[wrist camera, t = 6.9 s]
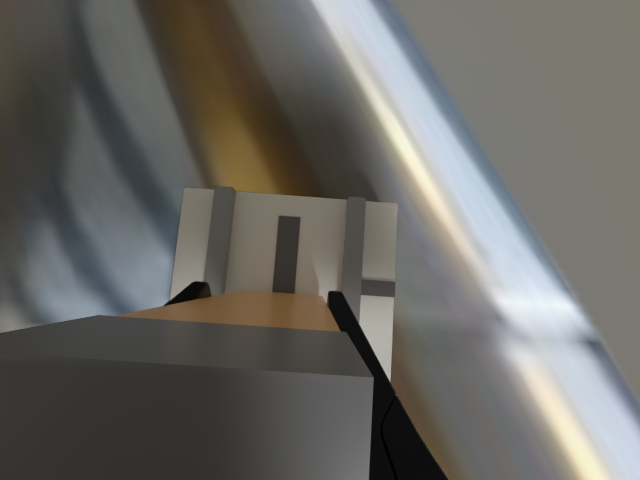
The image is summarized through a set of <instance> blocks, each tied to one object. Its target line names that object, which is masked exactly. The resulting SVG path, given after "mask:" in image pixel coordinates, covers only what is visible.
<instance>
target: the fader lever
mask: <svg viewBox="0 0 640 480" xmlns="http://www.w3.org/2000/svg"><path fill="white" fill-rule="evenodd" d="M373 382H374V377H373V376H372V374H371V372H370V371H369V369H368V367H367V366H366V364H365V362H364V361H363V359H362V357H361V356H360V354H359V352H358V351H357V349H356V347H355V346H354V344H353V342H352V341H351V339H350V337H349V336H348V334H347V332H341V331H340V329H339V327H338V325H337V323H336V321H335V319H334V317H333V315H332V313H331V311H330V310H329V308H328V307H327V304H326V302H325V300H324V298H323V296H320V295H306V294H292V293H278V292H263V291H249V290H240V291H235V292H230V293H225V294H221V295H216V296H211V297H206V298H202V299H196V300H191V301H186V302H181V303H177V304H172V305H167V306H162V307H157V308H152V309H147V310H142V311H137V312H133V313H128V314H123V315H118V316H104V315H96V316H91V317H86V318H80V319H75V320H69V321H64V322H58V323H53V324H48V325H42V326H37V327H31V328H26V329H20V330H15V331H10V332H4V333H0V480H369V465H370V444H371V423H372V402H373Z"/></svg>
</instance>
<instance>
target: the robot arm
mask: <svg viewBox="0 0 640 480" xmlns="http://www.w3.org/2000/svg"><path fill="white" fill-rule="evenodd" d="M211 296H212V295H211V290H210V286H209V284H208V282H202V281H194V282H192V283H191V284H189V285H188V286H187V287H186V288H185V289H183V290H182V291H181V292H180V293H178V294H177V295H176V296H175V297H174V298H172V299H171V300H170V301H169V302H167V303H166V304H165V305H164V306H167V305H172V304H177V303H181V302H186V301H191V300H196V299H202V298H206V297H211ZM327 307H328V308H329V310H330V311H331V313H332V315H333V317H334V319H335V321H336V323H337V325H338V327H339V329H340V331H341V332H347V334H348V336H349V337H350V339H351V341H352V342H353V344H354V346H355V347H356V349H357V351H358V352H359V354H360V356H361V357H362V359H363V361H364V362H365V364H366V366H367V367H368V369H369V371H370V372H371V374H372V376H373V377H374V382H373V402H372V423H371V444H370V465H369V480H448V478H447V477H446V475H445V474H444V472H443V471H442V469H441V468H440V466H439V465H438V463H437V462H436V460H435V459H434V457H433V456H432V454H431V452H430V451H429V449H428V448H427V446H426V445H425V443H424V441H423V440H422V438H421V437H420V435H419V434H418V432H417V430H416V428H415V427H414V425H413V423H412V421H411V420H410V418H409V416H408V414H407V413H406V411H405V409H404V407H403V405H402V403H401V401H400V399H399V398H398V396H396V392H395V390H394V388H393V387H392V385H391V383H390V381H389V379H388V377H387V375H386V373H385V371H384V370H383V368H382V366H381V364H380V362H379V360H378V358H377V356H376V355H375V353H374V351H373V349H372V347H371V345H370V343H369V341H368V339H367V338H366V336H365V334H364V332H363V330H362V328H361V326H360V324H359V322H358V321H357V319H356V317H355V315H354V313H353V311H352V309H351V307H350V306H349V304H348V302H347V300H346V298H345V296H344V294H343V293H342V292H341V291H329V292H328V296H327Z"/></svg>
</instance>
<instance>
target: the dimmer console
mask: <svg viewBox="0 0 640 480" xmlns="http://www.w3.org/2000/svg"><path fill="white" fill-rule="evenodd" d="M397 209H398V204H397V203H384V202H371V201H366V198H363V197H350V196H348V198H347V200H344V199H331V198H318V197H305V196H292V195H278V194H265V193H252V192H239V191H235V190H234V189H233V188H232V187H219V186H214V190H212V189H199V188H186V187H184V192H183V200H182V208H181V216H180V224H179V231H178V239H177V247H176V255H175V263H174V271H173V278H172V286H171V294H170V300H171V299H172V298H174V297H175V296H176V295H177V294H178V293H180V292H181V291H182V290H183V289H185V288H186V287H187V286H188V285H189V284H191V283H192V282H194V281H202V282H208V284H209V286H210V290H211V295H212V296H216V295H221V294H225V293H230V292H235V291H240V290H249V291H263V292H278V293H292V294H306V295H320V296H323V298H324V300H325V302H326V304H327V296H328V292H329V291H341V292H342V293H343V294H344V296H345V298H346V300H347V302H348V304H349V306H350V307H351V309H352V311H353V313H354V315H355V317H356V319H357V321H358V322H359V324H360V326H361V328H362V330H363V332H364V334H365V336H366V338H367V339H368V341H369V343H370V345H371V347H372V349H373V351H374V353H375V355H376V356H377V358H378V360H379V362H380V364H381V366H382V368H383V370H384V371H385V373H386V375H387V377H388V379H389V381H390V378H391V353H392V329H393V305H394V297H395V282H394V281H395V257H396V233H397Z"/></svg>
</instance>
